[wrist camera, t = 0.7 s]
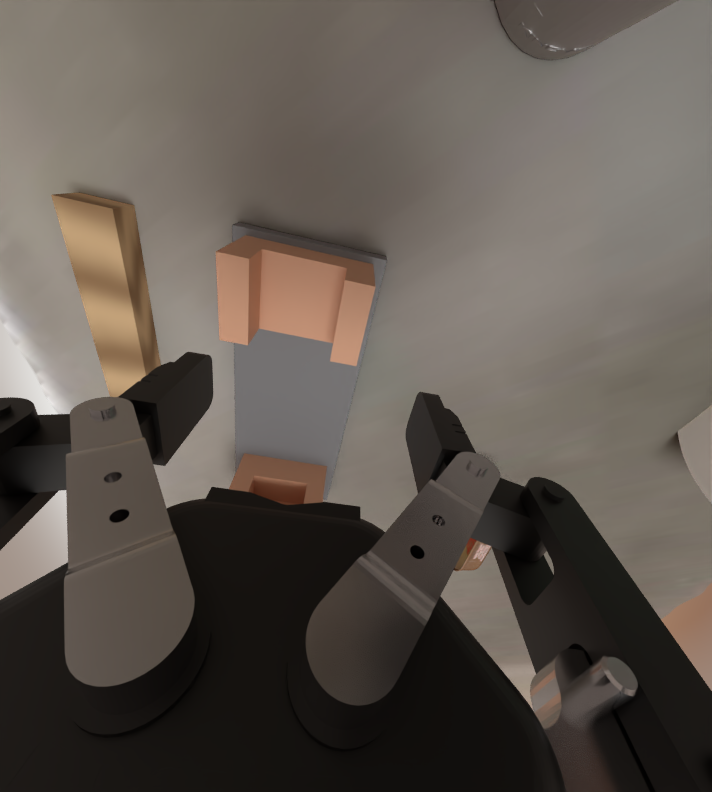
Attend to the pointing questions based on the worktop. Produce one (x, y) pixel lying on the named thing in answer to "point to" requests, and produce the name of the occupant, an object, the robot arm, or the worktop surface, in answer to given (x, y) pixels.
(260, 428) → the end cap rail
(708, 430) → the bracket
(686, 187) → the worktop surface
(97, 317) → the slat
